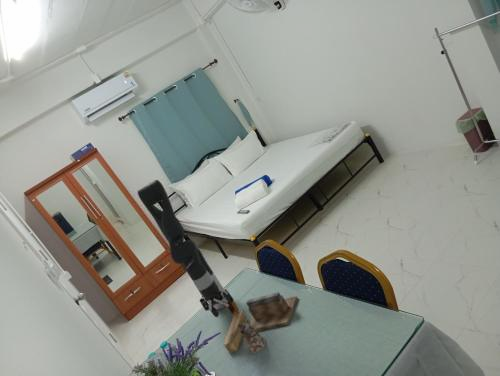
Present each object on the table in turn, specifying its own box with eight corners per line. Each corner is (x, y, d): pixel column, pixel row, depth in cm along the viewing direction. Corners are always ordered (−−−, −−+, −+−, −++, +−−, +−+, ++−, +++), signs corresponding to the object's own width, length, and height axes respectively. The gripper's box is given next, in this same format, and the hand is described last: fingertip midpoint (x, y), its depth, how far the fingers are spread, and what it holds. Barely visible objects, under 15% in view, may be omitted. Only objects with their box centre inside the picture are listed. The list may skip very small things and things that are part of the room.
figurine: (260, 353, 173) (245, 329, 170) (246, 353, 177) (231, 330, 174) (268, 339, 178) (253, 316, 175) (254, 340, 183) (240, 317, 180)
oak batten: (229, 353, 184) (223, 344, 183) (240, 321, 202) (234, 313, 201) (238, 351, 183) (231, 342, 181) (247, 319, 201) (242, 310, 199)
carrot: (241, 318, 203) (225, 293, 199) (232, 322, 205) (215, 296, 201) (243, 311, 208) (227, 286, 204) (234, 315, 209) (218, 290, 205)
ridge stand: (248, 333, 190) (236, 315, 187) (259, 307, 203) (249, 290, 201) (288, 324, 180) (276, 305, 178) (298, 298, 193) (287, 280, 191)
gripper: (222, 274, 185) (241, 304, 189) (196, 282, 192) (215, 311, 196) (214, 285, 179) (235, 316, 182) (188, 293, 186) (208, 323, 189)
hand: (225, 313), depth 189 cm, fingers open, 8 cm apart
